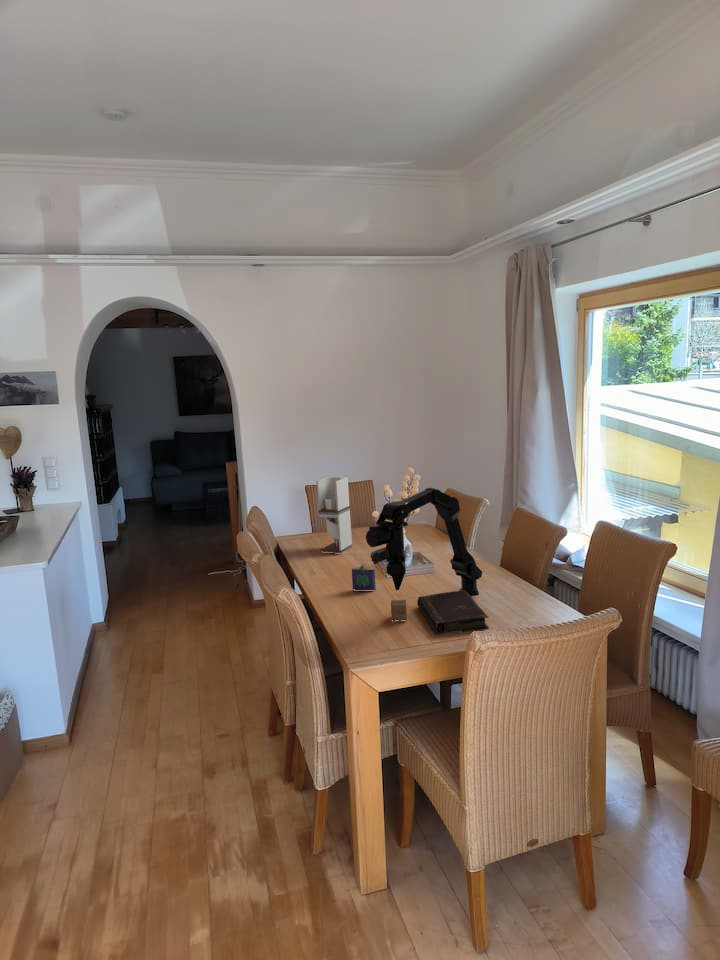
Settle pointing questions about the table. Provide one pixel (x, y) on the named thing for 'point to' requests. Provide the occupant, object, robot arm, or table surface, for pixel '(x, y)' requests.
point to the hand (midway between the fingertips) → (397, 585)
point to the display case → (335, 512)
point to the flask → (363, 578)
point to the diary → (452, 612)
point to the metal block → (398, 610)
